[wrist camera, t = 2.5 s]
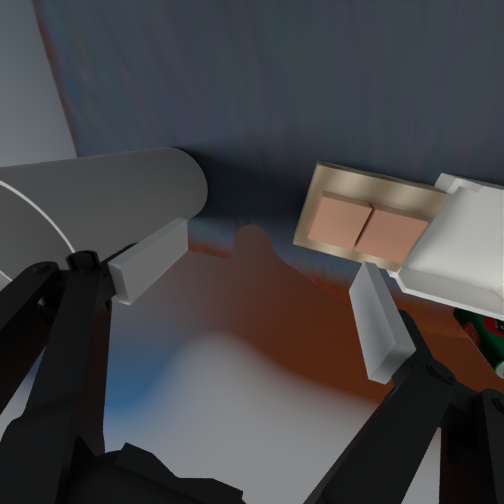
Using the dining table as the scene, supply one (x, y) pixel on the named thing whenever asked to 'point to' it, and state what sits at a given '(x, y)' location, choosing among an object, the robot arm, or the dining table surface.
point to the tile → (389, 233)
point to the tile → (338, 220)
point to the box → (461, 250)
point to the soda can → (484, 336)
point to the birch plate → (373, 191)
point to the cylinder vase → (93, 204)
